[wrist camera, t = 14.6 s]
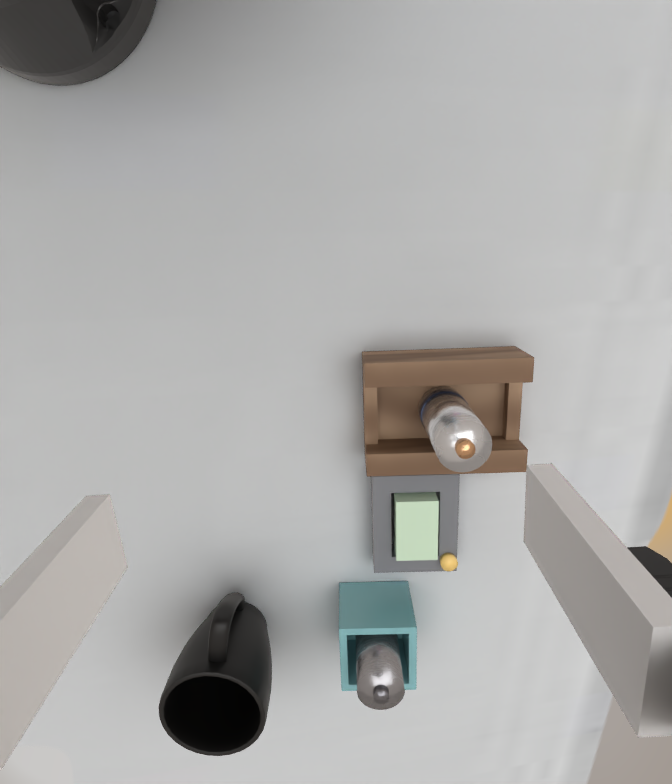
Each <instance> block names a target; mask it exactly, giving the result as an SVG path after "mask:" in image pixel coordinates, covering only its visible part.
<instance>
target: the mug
mask: <svg viewBox="0 0 672 784" xmlns="http://www.w3.org/2000/svg"><path fill="white" fill-rule="evenodd" d="M271 682H272V660H271V649H270V643H269V637H268V632H267V624H266V620H265V618H264V616H263V615H262V613H261V612H260V611H259V610H258V609H257V608H255V607H254V606H252V605H250V604H248V603H245V602H244V596H243V595H242V594H239V593H231V594H228V595H227V596H226V597H225V598H223V599H222V601H221V602H220V603H219V604H218V606H217V607H216V608H215V609H214V610H213V611H212V612H211V614H210V615H209V616H208V618H207V619H206V620H205V621H204V622H203V623H202V624H201V625H200V626H199V628H198V629H197V630H196V631H195V633H194V634H193V635H192V636H191V638H190V639H189V641H188V642H187V644H186V645H185V647H184V648H183V650H182V652H181V654H180V656H179V657H178V659H177V661H176V663H175V665H174V667H173V669H172V671H171V674H170V676H169V679H168V681H167V683H166V686H165V688H164V691H163V693H162V696H161V699H160V704H159V716H160V720H161V723H162V726H163V727H164V729H165V731H166V732H167V734H168V735H169V736H170V737H171V738H172V739H173V740H174V741H175V742H176V743H178V744H179V745H181V746H183V747H184V748H186V749H188V750H191V751H193V752H196V753H200V754H204V755H212V756H222V755H230V754H233V753H236V752H240V751H242V750H244V749H245V748H247V747H249V746H250V745H251V744H253V743H254V742H255V741H256V740H257V739H258V737H259V736H260V734H261V733H262V731H263V729H264V726H265V722H266V718H267V712H268V706H269V700H270V693H271Z"/></svg>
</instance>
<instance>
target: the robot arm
mask: <svg viewBox="0 0 672 784" xmlns="http://www.w3.org/2000/svg"><path fill="white" fill-rule="evenodd" d="M155 4H156V0H0V67H2V68H4V69H6V70H8V71H10V72H12V73H14V74H16V75H18V76H20V77H23V78H25V79H28V80H31V81H35V82H39V83H44V84H50V85H71V84H78V83H83V82H86V81H90V80H93V79H95V78H98V77H100V76H102V75H104V74H106V73H107V72H109V71H111V70H112V69H113V68H115V67H116V66H118V65H119V64H120V63H121V62H122V61H123V60H124V59H125V58H126V57H127V56H128V55H129V54H130V53H131V52H132V51H133V49H134V48H135V47H136V45H137V44H138V43H139V41H140V40H141V38H142V36H143V34H144V33H145V31H146V29H147V27H148V24H149V22H150V19H151V17H152V14H153V11H154V8H155ZM524 543H525V545H526V546H527V548H528V550H529V551H530V553H531V555H532V557H533V558H534V560H535V562H536V563H537V565H538V567H539V569H540V570H541V572H542V574H543V575H544V577H545V579H546V581H547V582H548V584H549V586H550V587H551V589H552V591H553V593H554V594H555V596H556V598H557V600H558V601H559V603H560V605H561V606H562V608H563V610H564V612H565V613H566V615H567V617H568V618H569V620H570V622H571V624H572V625H573V627H574V629H575V630H576V632H577V634H578V636H579V637H580V639H581V641H582V642H583V644H584V646H585V648H586V649H587V651H588V653H589V655H590V656H591V658H592V660H593V661H594V663H595V665H596V667H597V668H598V670H599V672H600V673H601V675H602V677H603V679H604V680H605V682H606V684H607V685H608V687H609V689H610V691H611V692H612V694H613V696H614V697H615V699H616V701H617V703H618V704H619V706H620V708H621V709H622V711H623V713H624V714H625V716H626V718H627V720H628V721H629V723H630V725H631V727H632V728H633V730H634V732H635V734H636V735H637V737H656V736H672V563H671V562H670V561H669V560H668V559H667V558H665V557H663V556H662V555H660V554H658V553H656V552H655V551H653V550H651V549H650V548H648V547H646V546H644V547H628V548H627V547H626V546H625V545H624V544H623V543H622V542H621V540H620V539H619V538H618V537H617V536H616V535H615V534H614V533H613V531H612V530H611V529H610V528H609V527H608V526H607V525H606V524H605V523H604V521H603V520H602V519H601V518H600V517H599V516H598V515H597V514H596V512H595V511H594V510H593V509H592V508H591V507H590V506H589V505H588V503H587V502H586V501H585V500H584V499H583V498H582V497H581V496H580V494H579V493H578V492H577V491H576V490H575V489H574V488H573V487H572V486H571V484H570V483H569V482H568V481H567V480H566V479H565V478H564V477H563V475H562V474H561V473H560V472H559V471H558V470H557V469H556V468H555V466H554V465H553V464H552V463H550V464H535V465H527V469H526V495H525V521H524ZM127 568H128V566H127V562H126V558H125V554H124V550H123V546H122V542H121V538H120V534H119V530H118V526H117V522H116V518H115V514H114V510H113V506H112V502H111V498H110V494H107V495H93V496H86V497H85V498H84V499H83V500H82V501H81V502H80V503H79V504H78V505H77V506H76V507H75V508H74V509H73V510H72V511H71V512H70V514H69V515H68V516H67V517H66V518H65V519H64V520H63V521H62V522H61V523H60V524H59V525H58V526H57V527H56V528H55V529H54V530H53V532H52V533H51V534H50V535H49V536H48V537H47V538H46V539H45V540H44V541H43V542H42V543H41V544H40V545H39V546H38V547H37V548H36V550H35V551H34V552H33V553H32V554H31V555H30V556H29V557H28V558H27V559H26V560H25V561H24V562H23V563H22V564H21V565H20V566H19V568H18V569H17V570H16V571H15V572H14V573H13V574H12V575H11V576H10V577H9V578H8V579H7V580H6V581H5V582H4V583H3V584H2V586H1V587H0V770H2V768H3V767H4V765H5V763H6V762H7V760H8V758H9V757H10V755H11V754H12V752H13V751H14V749H15V747H16V746H17V744H18V743H19V741H20V739H21V738H22V736H23V735H24V733H25V731H26V730H27V728H28V727H29V725H30V723H31V722H32V720H33V718H34V717H35V715H36V714H37V712H38V710H39V709H40V707H41V706H42V704H43V702H44V701H45V699H46V698H47V696H48V694H49V693H50V691H51V690H52V688H53V686H54V685H55V683H56V682H57V680H58V678H59V677H60V675H61V674H62V672H63V670H64V669H65V667H66V666H67V664H68V662H69V661H70V659H71V658H72V656H73V654H74V653H75V651H76V650H77V648H78V646H79V645H80V643H81V642H82V640H83V638H84V637H85V635H86V634H87V632H88V630H89V629H90V627H91V626H92V624H93V622H94V621H95V619H96V618H97V616H98V614H99V613H100V611H101V610H102V608H103V606H104V605H105V603H106V602H107V600H108V598H109V597H110V595H111V593H112V592H113V590H114V589H115V587H116V585H117V584H118V582H119V581H120V579H121V577H122V576H123V574H124V573H125V571H126V569H127Z"/></svg>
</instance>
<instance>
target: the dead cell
mask: <svg viewBox="0 0 672 784" xmlns="http://www.w3.org/2000/svg"><path fill="white" fill-rule="evenodd" d="M355 636H356V670H357V694H358V697H359V699H360V701H361V702H362V703H363V704H364V705H366V706H368V707H370V708H373V709H378V710H383V709H389V708H392V707H394V706H396V705H397V704H398V703H399V702H400V701H401V700H402V698H403V696H404V693H405V688H404V681H403V674H402V666H401V659H400V652H399V644H398V637H397V634H376V635H355Z"/></svg>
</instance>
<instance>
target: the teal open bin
mask: <svg viewBox="0 0 672 784" xmlns="http://www.w3.org/2000/svg"><path fill="white" fill-rule="evenodd" d="M376 634H397V637H398V644H399V652H400V659H401V666H402V674H403V681H404V688H405V690H415V689H416V651H417V627H416V621H415V616H414V611H413V606H412V600H411V595H410V590H409V585H408V581H387V582H346V583H339V643H340V665H341V687H342V691H357V670H356V636H355V635H376Z"/></svg>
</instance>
